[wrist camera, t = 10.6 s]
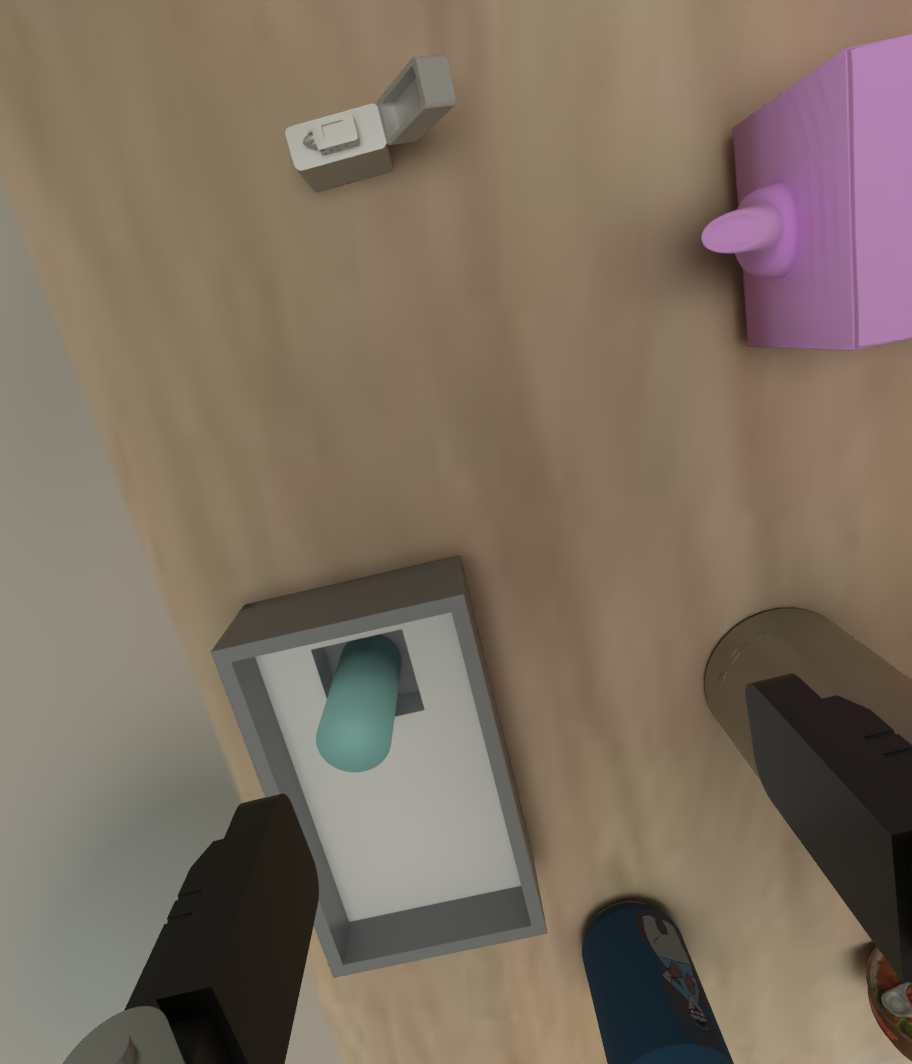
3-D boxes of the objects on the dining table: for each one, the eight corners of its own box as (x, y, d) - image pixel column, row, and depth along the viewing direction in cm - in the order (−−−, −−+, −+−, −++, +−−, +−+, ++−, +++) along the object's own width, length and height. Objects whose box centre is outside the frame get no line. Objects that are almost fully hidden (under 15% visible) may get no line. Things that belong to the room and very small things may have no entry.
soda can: (581, 975, 48) (627, 1178, 36) (574, 899, 46) (620, 1088, 34) (677, 963, 48) (754, 1162, 36) (674, 886, 46) (754, 1071, 34)
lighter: (313, 193, 33) (276, 148, 25) (302, 155, 32) (261, 98, 25) (452, 154, 33) (457, 98, 25) (443, 115, 32) (445, 45, 24)
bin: (459, 555, 38) (463, 594, 33) (532, 856, 45) (547, 933, 39) (244, 605, 39) (210, 651, 33) (346, 896, 45) (333, 977, 39)
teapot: (1010, 74, 32) (1352, -81, 20) (1003, 290, 35) (1298, 266, 23) (606, 162, 33) (705, 60, 21) (631, 367, 36) (730, 383, 24)
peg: (413, 653, 39) (406, 732, 31) (379, 698, 40) (364, 784, 32) (362, 622, 38) (342, 693, 31) (329, 667, 39) (301, 748, 32)
